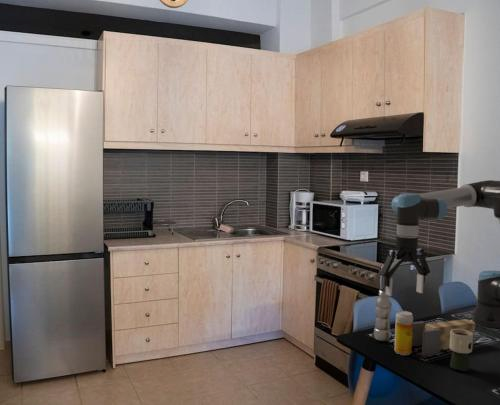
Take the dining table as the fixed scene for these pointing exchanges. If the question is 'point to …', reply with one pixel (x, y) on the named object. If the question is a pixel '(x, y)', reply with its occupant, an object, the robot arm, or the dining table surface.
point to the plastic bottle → (382, 317)
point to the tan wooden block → (446, 329)
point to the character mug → (460, 348)
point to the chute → (426, 339)
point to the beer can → (403, 333)
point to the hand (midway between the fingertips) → (404, 293)
